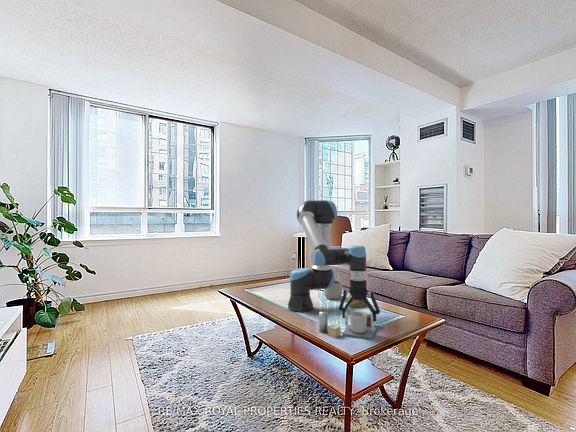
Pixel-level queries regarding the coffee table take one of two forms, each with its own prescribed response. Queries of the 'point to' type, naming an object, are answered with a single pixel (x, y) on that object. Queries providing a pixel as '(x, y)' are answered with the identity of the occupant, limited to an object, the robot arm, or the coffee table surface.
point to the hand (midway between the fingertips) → (359, 327)
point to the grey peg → (323, 322)
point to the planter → (334, 290)
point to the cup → (358, 321)
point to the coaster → (366, 335)
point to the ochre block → (334, 331)
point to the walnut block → (368, 320)
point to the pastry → (356, 303)
